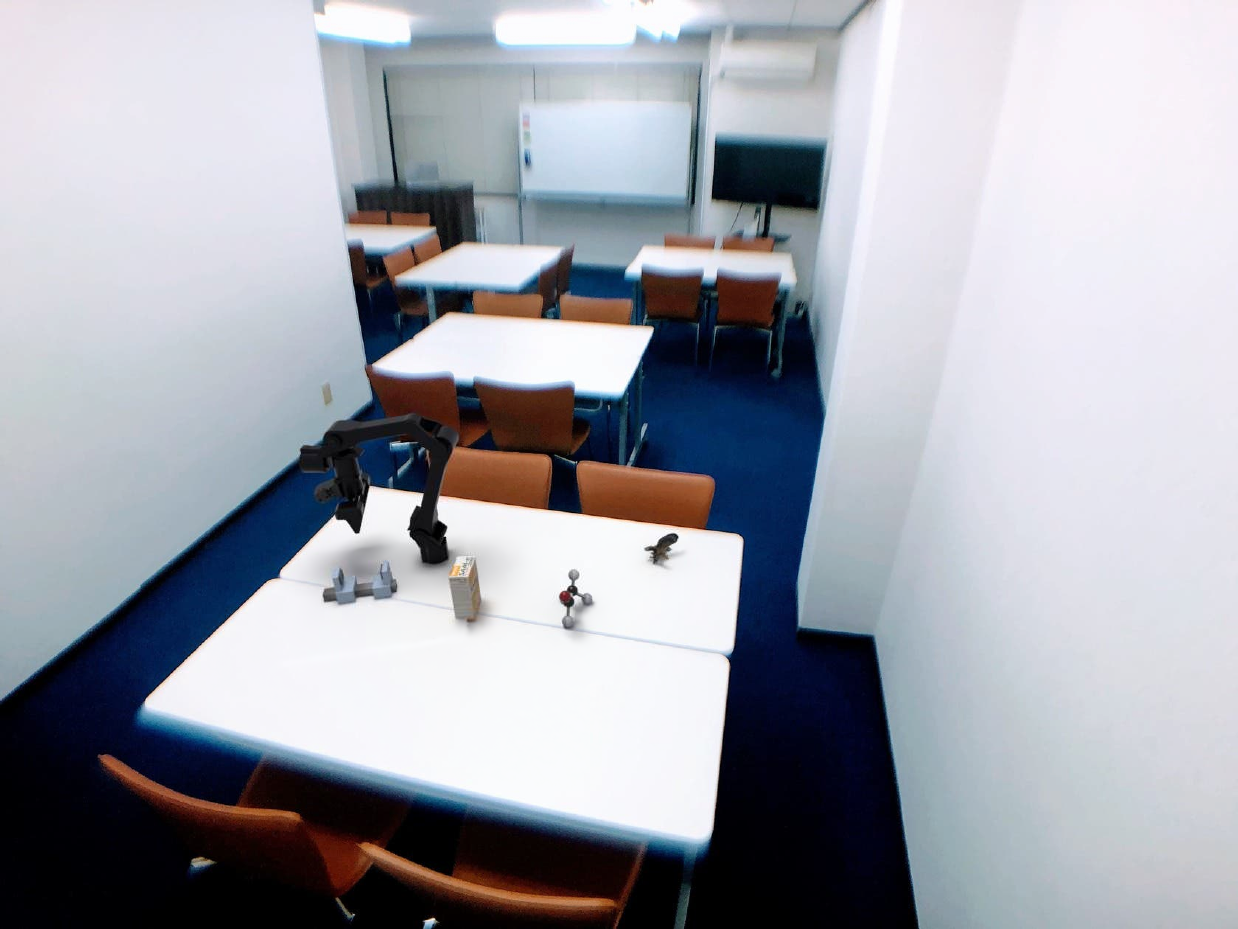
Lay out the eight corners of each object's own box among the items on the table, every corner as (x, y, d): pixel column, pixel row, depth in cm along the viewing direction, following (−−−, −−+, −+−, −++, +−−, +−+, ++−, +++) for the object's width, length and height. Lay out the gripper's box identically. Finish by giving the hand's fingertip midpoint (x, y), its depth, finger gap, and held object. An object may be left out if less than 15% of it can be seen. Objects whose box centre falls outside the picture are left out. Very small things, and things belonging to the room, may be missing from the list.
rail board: (400, 579, 177) (398, 569, 175) (398, 601, 169) (396, 592, 168) (327, 589, 174) (324, 579, 172) (321, 612, 166) (318, 602, 165)
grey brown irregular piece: (673, 566, 178) (685, 542, 184) (658, 546, 176) (670, 523, 182) (651, 571, 183) (663, 548, 189) (636, 552, 181) (649, 529, 187)
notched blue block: (358, 586, 173) (352, 563, 170) (355, 601, 168) (349, 578, 164) (341, 588, 172) (335, 565, 169) (338, 604, 167) (331, 580, 164)
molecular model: (593, 599, 169) (591, 564, 164) (583, 633, 158) (581, 597, 153) (560, 596, 170) (558, 562, 165) (549, 630, 160) (545, 594, 154)
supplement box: (475, 621, 162) (468, 577, 156) (455, 621, 162) (447, 577, 156) (482, 598, 170) (476, 555, 163) (462, 598, 170) (456, 555, 163)
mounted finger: (393, 581, 174) (388, 558, 171) (391, 596, 169) (386, 573, 166) (377, 583, 174) (371, 560, 170) (374, 599, 169) (369, 575, 165)
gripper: (319, 457, 177) (332, 508, 185) (305, 493, 161) (320, 548, 169) (364, 452, 179) (375, 503, 187) (355, 488, 163) (368, 542, 171)
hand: (359, 523), depth 178 cm, fingers open, 9 cm apart
